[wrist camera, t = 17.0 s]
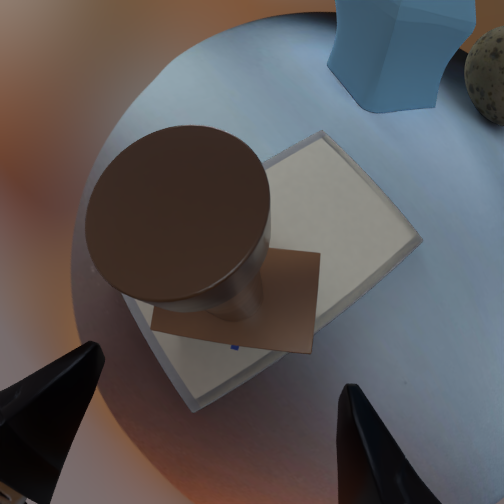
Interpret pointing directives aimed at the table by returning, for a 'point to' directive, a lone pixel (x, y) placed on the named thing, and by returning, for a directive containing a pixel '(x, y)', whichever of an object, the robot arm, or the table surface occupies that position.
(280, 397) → the table surface
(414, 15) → the vase
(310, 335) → the wooden rubber stamp
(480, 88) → the decorative egg
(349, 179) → the board
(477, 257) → the table surface
